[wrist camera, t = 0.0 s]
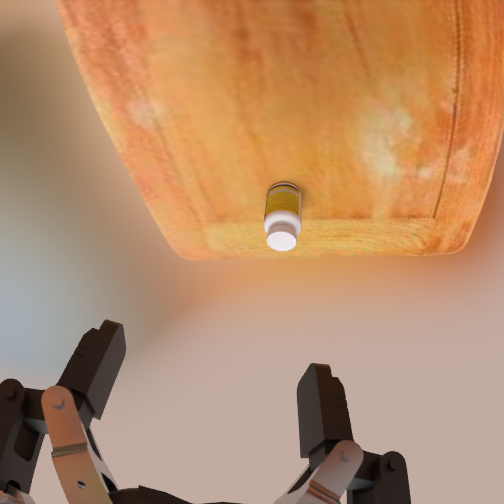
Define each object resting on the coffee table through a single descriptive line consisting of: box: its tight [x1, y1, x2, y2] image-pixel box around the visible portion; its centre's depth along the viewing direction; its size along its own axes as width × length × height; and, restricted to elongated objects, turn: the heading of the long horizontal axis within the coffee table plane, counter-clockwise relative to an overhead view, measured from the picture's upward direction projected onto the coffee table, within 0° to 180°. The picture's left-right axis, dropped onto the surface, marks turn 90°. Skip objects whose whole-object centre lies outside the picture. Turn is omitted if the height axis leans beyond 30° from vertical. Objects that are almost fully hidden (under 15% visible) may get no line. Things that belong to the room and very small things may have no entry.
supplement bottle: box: [264, 182, 302, 251], centre depth 41 cm, size 5×5×10 cm
